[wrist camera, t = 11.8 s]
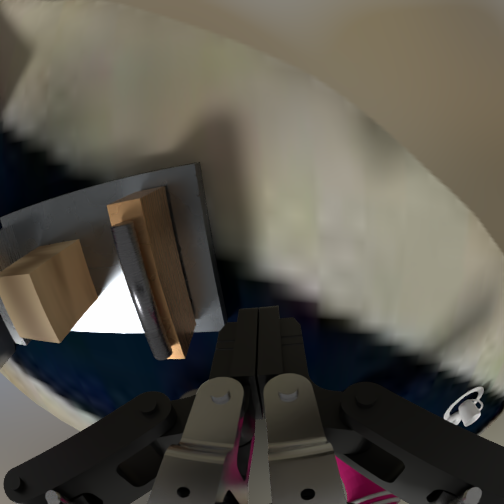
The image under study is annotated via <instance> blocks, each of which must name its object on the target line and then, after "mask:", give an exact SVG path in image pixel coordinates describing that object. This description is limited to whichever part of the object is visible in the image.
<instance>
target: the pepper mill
mask: <svg viewBox="0 0 504 504" xmlns="http://www.w3.org/2000/svg"><path fill="white" fill-rule="evenodd" d="M335 457H336V456H335ZM336 461H337V465H338V469H339V473H340V477H341V479H342V481H343V483H344V485H345V489H346V492H347V501H348V502H351V503H355V504H398V503H399V502H400V498H398V497H397V496H395V495H393V494H392V493H390V492H388V491H387V490H385V489H383V488H382V487H380V486H379V485H377V484H375V483H374V482H372V481H371V480H369V479H368V478H366V477H365V476H363V475H362V474H360V473H359V472H357V471H356V470H354V469H353V468H352V467H350V466H349V465H347V464H346V463H345V462H343V461H342V460H340V459H339V458H338V457H336Z"/></svg>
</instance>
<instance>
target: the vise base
mask: <svg viewBox="0 0 504 504" xmlns="http://www.w3.org/2000/svg"><path fill="white" fill-rule="evenodd" d="M162 186H165V191H166V196H167V202H168V207H169V212H170V217H171V222H172V227H173V231H174V236H175V241H176V245H177V250H178V254H179V258H180V263H181V267H182V271H183V275H184V279H185V283H186V287H187V291H188V295H189V299H190V303H191V307H192V310H193V314H194V318H195V321H196V326H195V329H194V332H210V331H220V330H221V329H222V328H223V326H224V325H225V324H226V323H227V320H228V318H227V313H226V309H225V304H224V299H223V294H222V288H221V283H220V278H219V273H218V268H217V262H216V257H215V251H214V246H213V240H212V235H211V229H210V223H209V217H208V212H207V206H206V199H205V193H204V187H203V181H202V174H201V168H200V162H198V163H192V164H186V165H181V166H176V167H170V168H165V169H160V170H156V171H151V172H146V173H142V174H137V175H133V176H129V177H125V178H120V179H116V180H112V181H109V182H105V183H101V184H97V185H94V186H90V187H86V188H83V189H80V190H76V191H73V192H70V193H66V194H63V195H60V196H57V197H54V198H51V199H48V200H45V201H42V202H39V203H36V204H33V205H30V206H28V207H25V208H22V209H20V210H17V211H14V212H12V213H9V214H7V215H5V216H3V217H0V220H1V224H2V228H1V229H0V272H1V271H3V270H4V269H6V268H7V267H8V266H10V265H11V264H13V263H14V262H16V261H17V260H19V259H20V258H22V257H23V256H25V255H26V254H28V253H30V252H31V251H33V250H34V249H36V248H37V247H39V246H44V245H50V244H55V243H60V242H66V241H72V240H77V239H79V241H80V244H81V248H82V251H83V254H84V257H85V261H86V264H87V267H88V270H89V273H90V276H91V279H92V282H93V284H94V287H95V290H96V293H97V295H98V299H97V300H96V301H95V302H94V303H93V305H92V306H91V307H90V308H89V309H88V310H87V311H86V313H85V314H84V315H83V316H82V317H81V318H80V320H79V321H78V322H77V323H76V324H75V326H74V327H73V328H72V329H71V330H70V331H83V332H107V333H144V331H143V328H142V325H141V323H140V320H139V318H138V315H137V312H136V310H135V307H134V304H133V301H132V298H131V295H130V292H129V290H128V287H127V283H126V280H125V277H124V274H123V271H122V268H121V264H120V261H119V258H118V254H117V251H116V247H115V244H114V240H113V236H112V232H111V228H110V227H112V226H111V222H110V218H109V213H108V209H107V205H108V204H110V203H113V202H115V201H117V200H119V199H121V198H123V197H125V196H127V195H130V194H132V193H134V192H137V191H142V190H147V189H152V188H157V187H162ZM0 314H1V316H2V318H3V320H4V323H5V324H6V326H7V328H8V330H9V332H10V334H11V336H12V338H13V340H14V341H15V343H17V344H22V345H27V344H28V343H29V342H30V341H31V340H32V339H27V338H21V337H20V336H19V335H18V333H17V331H16V329H15V327H14V325H13V323H12V321H11V319H10V317H9V315H8V313H7V310H6V308H5V306H4V304H3V301H2V299H1V297H0Z"/></svg>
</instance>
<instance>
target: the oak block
mask: <svg viewBox="0 0 504 504" xmlns="http://www.w3.org/2000/svg"><path fill="white" fill-rule="evenodd" d="M0 297H1V299H2V301H3V304H4V306H5V308H6V310H7V313H8V315H9V317H10V319H11V321H12V323H13V325H14V327H15V329H16V331H17V333H18V335H19V336H20V337H21V338H27V339H34V340H40V341H48V342H55V343H61V341H62V340H63V339H64V338H65V336H66V335H67V334H68V333H69V332H70V330H71V329H72V328H73V327H74V326H75V324H76V323H77V322H78V321H79V320H80V318H81V317H82V316H83V315H84V314H85V313H86V311H87V310H88V309H89V308H90V307H91V306H92V305H93V303H94V302H95V301H96V300H97V299H98V295H97V293H96V290H95V287H94V284H93V282H92V279H91V276H90V273H89V270H88V267H87V264H86V261H85V257H84V254H83V251H82V248H81V244H80V241H79V239H77V240H72V241H66V242H60V243H55V244H50V245H44V246H39V247H37V248H36V249H34V250H33V251H31V252H30V253H28V254H26V255H25V256H23V257H22V258H20V259H19V260H17V261H16V262H14V263H13V264H11V265H10V266H8V267H7V268H6V269H4V270H3V271H1V272H0Z"/></svg>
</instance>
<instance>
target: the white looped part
mask: <svg viewBox="0 0 504 504" xmlns="http://www.w3.org/2000/svg"><path fill="white" fill-rule="evenodd" d="M475 391H477V392H478V393H479V394H478V397H477V399H471V400H469V399H468V400H466V401H464V402H463V403H462V404H461V405H460V406H459V412H455V413H454V414H452V415H451V416H450V415H449V413H450V411H451V409H452V408H453V407H454V405H455V404H456V403H457V402H459V401H460V400H461V399H462V398H463V397H465V396H466V395H468V394H470V393H472V392H475ZM483 392H484V388H483V387H481V386H480V387H476V388H474V389H472V390H470V391H468V392H467V393H465V394H464V395H462V396H461V397H460V398H459V399H457V400H456V401H455V402H454V403H453V404H452V405H451V406H450V407H449V409H448V410H447V411H446V413H445V415H444V419H445V420H447V421H449V422H451V423H453V424H455V425H457V424H458V423H459V422H460V421H461V419H462V421H463V423H464V426H468V425H470V424H472V423H473V422H475V421H476V420H477V419H478V418H479V417H480V415H481V413H480V410H481V409H482V408H483V403H482V402H481V401H480V400H479V399H480V398H481V396H482V394H483ZM472 401H474V403H473V402H472ZM477 402H479V403H481V408H480V409H478V408H477V407H476V405H475V404H476V403H477Z"/></svg>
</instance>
